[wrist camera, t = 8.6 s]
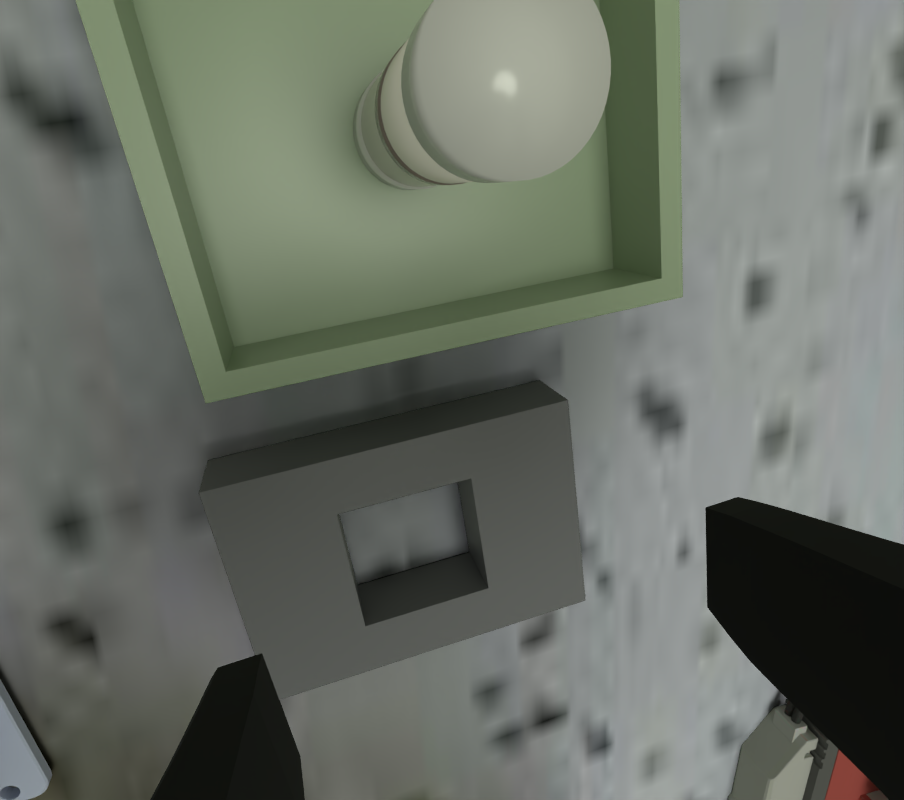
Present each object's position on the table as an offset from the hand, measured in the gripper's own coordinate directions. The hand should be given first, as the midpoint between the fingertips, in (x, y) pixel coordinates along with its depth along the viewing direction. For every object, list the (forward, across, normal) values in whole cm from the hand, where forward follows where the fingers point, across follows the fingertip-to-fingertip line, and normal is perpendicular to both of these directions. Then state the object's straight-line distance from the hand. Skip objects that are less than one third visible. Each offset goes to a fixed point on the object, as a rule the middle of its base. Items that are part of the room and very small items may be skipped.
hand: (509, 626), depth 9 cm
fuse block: (+9, 0, +3) cm, 10 cm away
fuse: (+9, -2, -8) cm, 12 cm away
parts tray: (+9, -2, -8) cm, 12 cm away
